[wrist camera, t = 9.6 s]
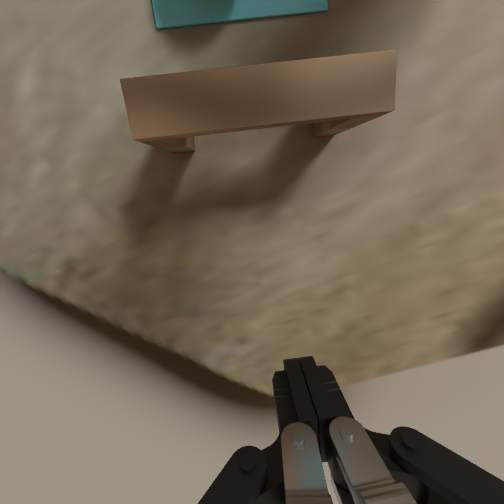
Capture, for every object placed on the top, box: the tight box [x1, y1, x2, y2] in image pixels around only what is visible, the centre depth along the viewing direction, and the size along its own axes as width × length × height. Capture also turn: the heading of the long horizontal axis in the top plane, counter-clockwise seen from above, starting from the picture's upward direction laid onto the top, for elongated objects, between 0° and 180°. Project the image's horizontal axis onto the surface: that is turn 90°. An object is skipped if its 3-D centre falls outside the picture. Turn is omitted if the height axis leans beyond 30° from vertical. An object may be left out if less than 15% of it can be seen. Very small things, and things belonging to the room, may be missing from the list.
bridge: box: [120, 49, 397, 153], centre depth 19 cm, size 3×15×10 cm, turn 96°
